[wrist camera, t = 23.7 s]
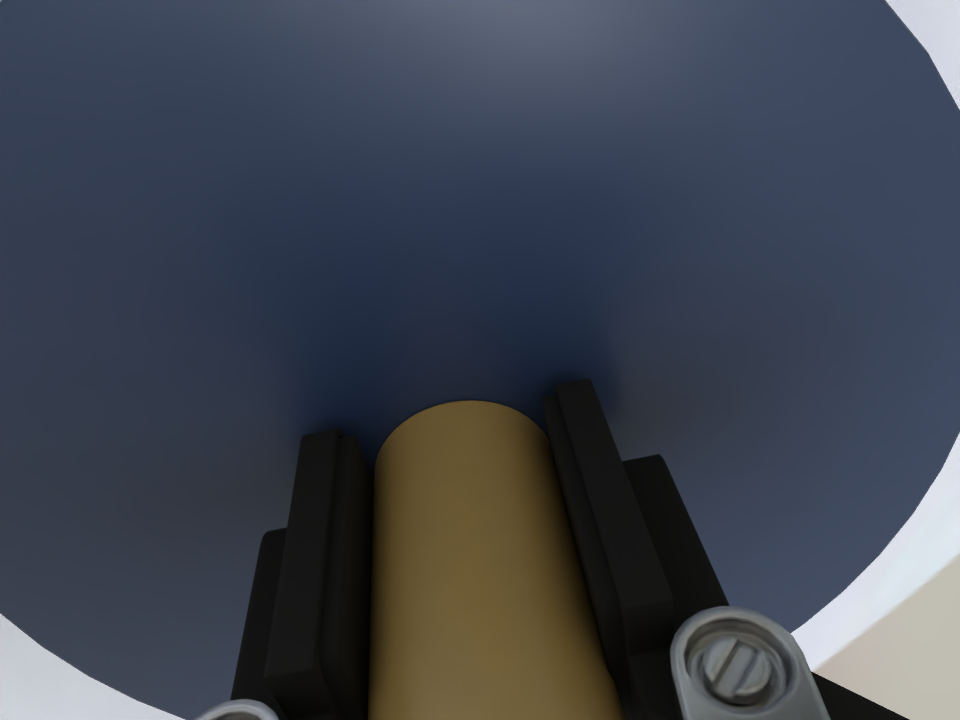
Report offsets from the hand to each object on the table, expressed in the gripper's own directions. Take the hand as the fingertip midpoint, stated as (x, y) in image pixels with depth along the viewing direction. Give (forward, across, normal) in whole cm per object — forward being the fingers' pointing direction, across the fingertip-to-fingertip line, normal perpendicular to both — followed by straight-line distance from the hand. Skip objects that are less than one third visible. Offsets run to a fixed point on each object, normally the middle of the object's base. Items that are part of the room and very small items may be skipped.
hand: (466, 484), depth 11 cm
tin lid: (+1, 0, 0) cm, 1 cm away
